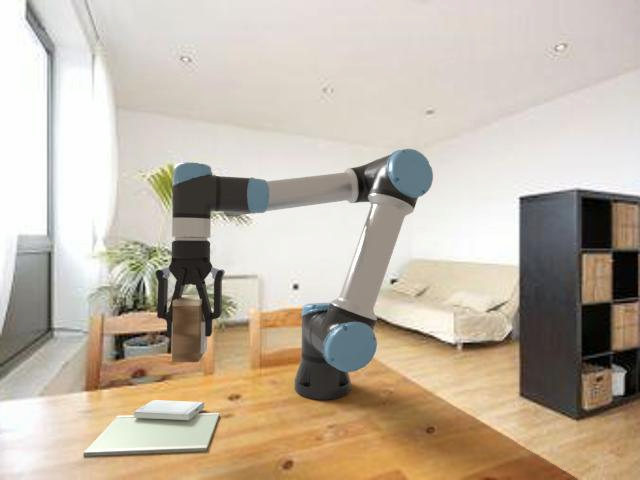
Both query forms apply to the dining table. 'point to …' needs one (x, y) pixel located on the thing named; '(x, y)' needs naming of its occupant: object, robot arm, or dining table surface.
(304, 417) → the dining table surface
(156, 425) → the board
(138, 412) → the hard drive
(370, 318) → the robot arm
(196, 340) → the walnut block
